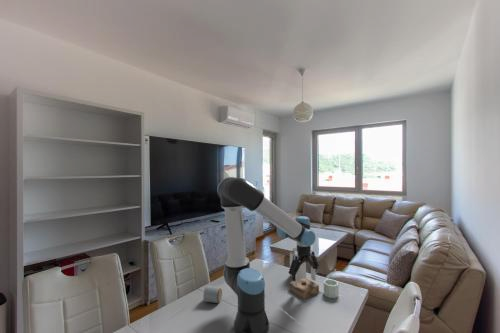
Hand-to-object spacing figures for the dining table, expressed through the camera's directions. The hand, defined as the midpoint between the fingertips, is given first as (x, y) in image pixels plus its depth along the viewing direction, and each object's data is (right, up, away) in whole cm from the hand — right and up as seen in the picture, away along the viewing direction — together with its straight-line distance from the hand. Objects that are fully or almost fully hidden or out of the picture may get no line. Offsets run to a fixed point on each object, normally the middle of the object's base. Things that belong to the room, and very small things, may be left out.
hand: (304, 283), depth 134 cm
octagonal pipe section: (+13, -5, -4) cm, 15 cm away
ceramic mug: (-49, -6, -7) cm, 50 cm away
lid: (0, -4, 0) cm, 4 cm away
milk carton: (0, -5, +17) cm, 18 cm away
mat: (0, -5, 0) cm, 5 cm away
